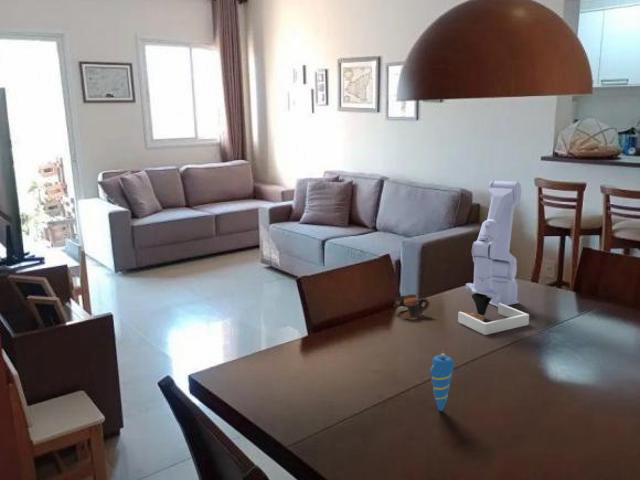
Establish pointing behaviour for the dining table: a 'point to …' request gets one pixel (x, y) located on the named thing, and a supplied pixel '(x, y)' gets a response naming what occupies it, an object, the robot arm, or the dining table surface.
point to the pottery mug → (412, 305)
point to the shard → (476, 316)
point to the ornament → (441, 378)
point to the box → (513, 320)
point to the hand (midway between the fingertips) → (481, 314)
